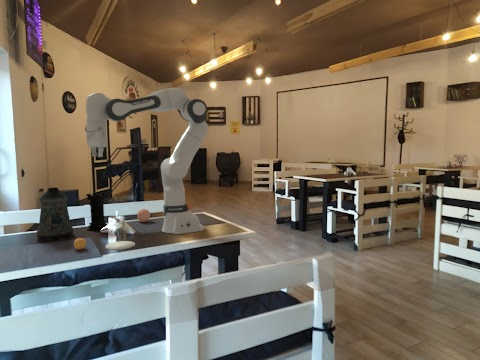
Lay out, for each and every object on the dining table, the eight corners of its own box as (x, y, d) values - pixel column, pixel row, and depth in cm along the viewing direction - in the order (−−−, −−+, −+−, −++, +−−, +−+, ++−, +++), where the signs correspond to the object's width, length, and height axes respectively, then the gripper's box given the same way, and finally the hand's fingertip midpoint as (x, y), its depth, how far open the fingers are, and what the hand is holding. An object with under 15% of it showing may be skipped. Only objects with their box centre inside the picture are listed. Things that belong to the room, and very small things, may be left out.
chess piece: (100, 231, 189) (98, 194, 187) (87, 230, 190) (85, 194, 188) (108, 227, 196) (107, 192, 194) (96, 227, 198) (94, 192, 196)
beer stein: (44, 243, 165) (41, 191, 163) (29, 237, 178) (26, 188, 175) (79, 236, 178) (76, 187, 175) (63, 230, 190) (60, 185, 188)
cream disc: (134, 240, 169) (134, 240, 169) (135, 247, 157) (135, 247, 157) (106, 243, 165) (106, 242, 165) (104, 250, 153) (104, 250, 153)
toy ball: (145, 219, 216) (144, 207, 215) (153, 221, 212) (153, 208, 211) (134, 222, 210) (133, 209, 209) (142, 223, 205) (142, 210, 204)
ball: (86, 247, 159) (86, 236, 158) (85, 250, 154) (85, 239, 154) (74, 248, 157) (74, 237, 157) (73, 251, 153) (72, 240, 152)
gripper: (110, 127, 161) (111, 157, 162) (97, 128, 177) (97, 156, 178) (96, 126, 157) (96, 157, 158) (83, 128, 173) (84, 156, 174)
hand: (97, 156), depth 169 cm, fingers open, 8 cm apart
